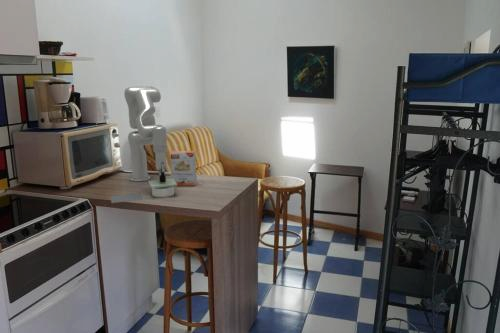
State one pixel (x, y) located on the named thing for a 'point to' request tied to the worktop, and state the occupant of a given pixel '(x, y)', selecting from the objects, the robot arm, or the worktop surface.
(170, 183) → the cover board
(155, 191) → the bowl
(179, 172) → the cracker box
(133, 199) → the mat
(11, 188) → the worktop surface
